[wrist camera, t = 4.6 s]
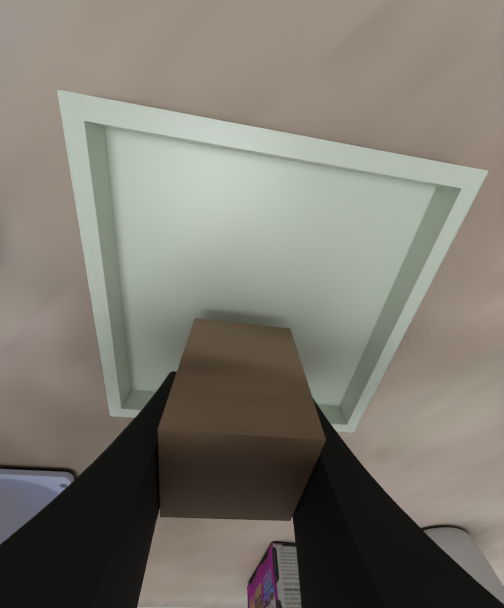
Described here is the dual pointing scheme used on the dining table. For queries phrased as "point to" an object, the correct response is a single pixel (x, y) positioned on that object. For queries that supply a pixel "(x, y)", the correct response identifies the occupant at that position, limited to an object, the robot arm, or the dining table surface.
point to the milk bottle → (467, 557)
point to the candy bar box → (276, 579)
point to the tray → (252, 243)
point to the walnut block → (237, 426)
